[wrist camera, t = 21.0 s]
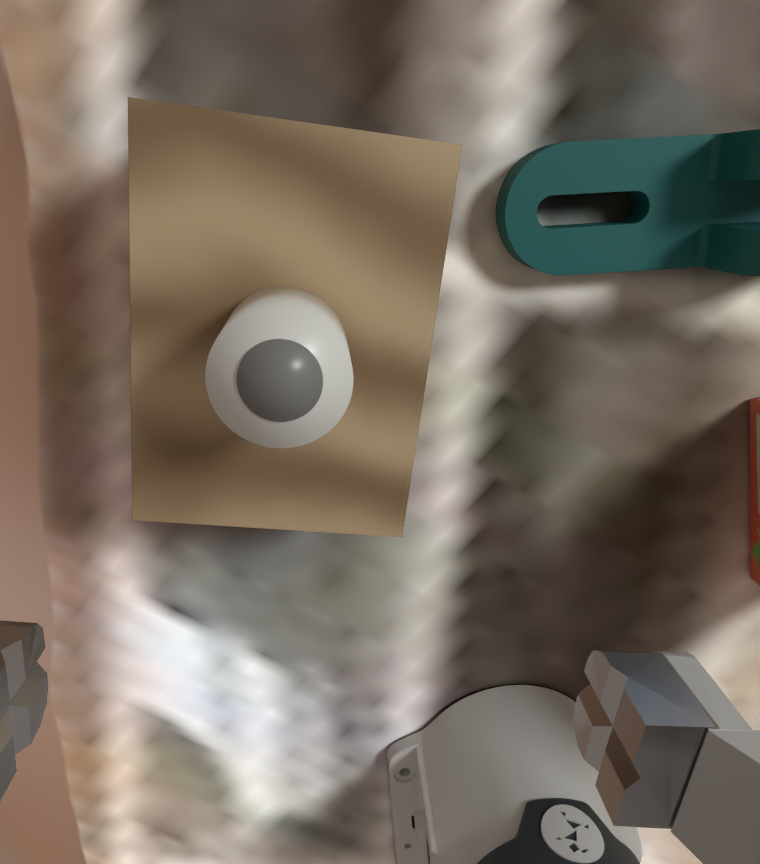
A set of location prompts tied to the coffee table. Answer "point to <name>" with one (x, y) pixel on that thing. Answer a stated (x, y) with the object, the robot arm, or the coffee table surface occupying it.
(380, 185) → the lid
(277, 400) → the white knob cylinder
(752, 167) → the bracket
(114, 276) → the coffee table surface
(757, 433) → the cracker box
